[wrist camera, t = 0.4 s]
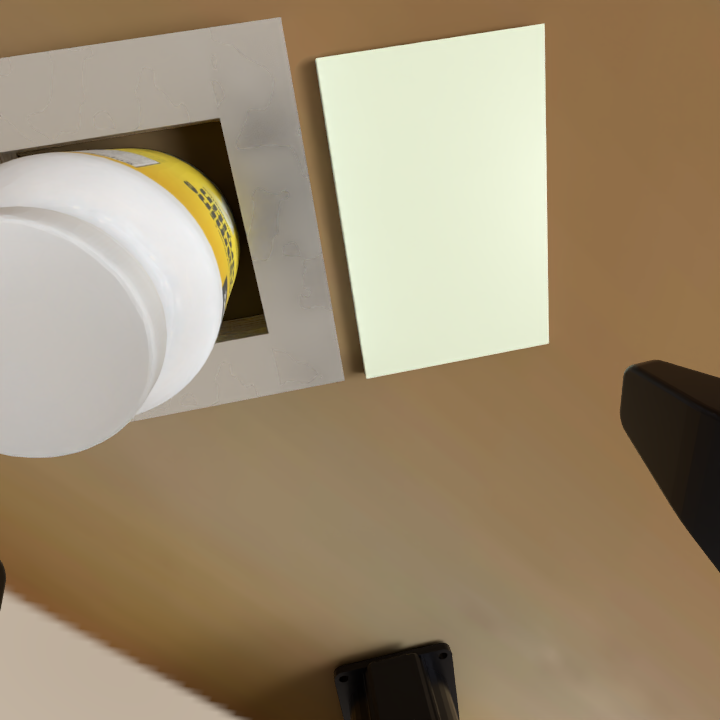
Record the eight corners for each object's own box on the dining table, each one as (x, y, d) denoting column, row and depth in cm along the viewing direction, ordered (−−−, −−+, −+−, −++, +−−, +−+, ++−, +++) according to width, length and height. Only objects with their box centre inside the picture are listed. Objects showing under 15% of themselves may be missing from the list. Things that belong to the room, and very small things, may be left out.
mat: (542, 338, 24) (548, 343, 24) (364, 373, 24) (366, 378, 23) (536, 26, 20) (544, 23, 19) (315, 60, 19) (316, 58, 19)
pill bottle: (215, 342, 22) (158, 531, 12) (44, 291, 21) (-201, 457, 10) (264, 185, 20) (249, 241, 10) (79, 115, 19) (-181, 90, 8)
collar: (337, 356, 23) (344, 380, 21) (48, 411, 22) (22, 442, 20) (280, 31, 19) (280, 16, 16) (-89, 86, 18) (-144, 79, 15)
